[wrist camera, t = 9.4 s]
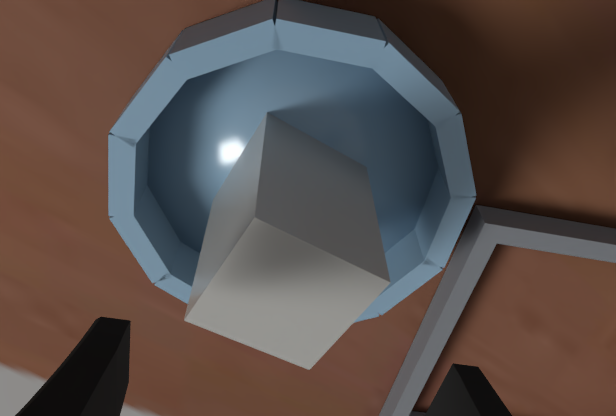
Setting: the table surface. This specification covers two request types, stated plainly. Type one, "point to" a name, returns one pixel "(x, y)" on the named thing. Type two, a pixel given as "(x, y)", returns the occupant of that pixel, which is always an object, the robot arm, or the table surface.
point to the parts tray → (465, 273)
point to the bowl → (300, 114)
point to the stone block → (289, 247)
